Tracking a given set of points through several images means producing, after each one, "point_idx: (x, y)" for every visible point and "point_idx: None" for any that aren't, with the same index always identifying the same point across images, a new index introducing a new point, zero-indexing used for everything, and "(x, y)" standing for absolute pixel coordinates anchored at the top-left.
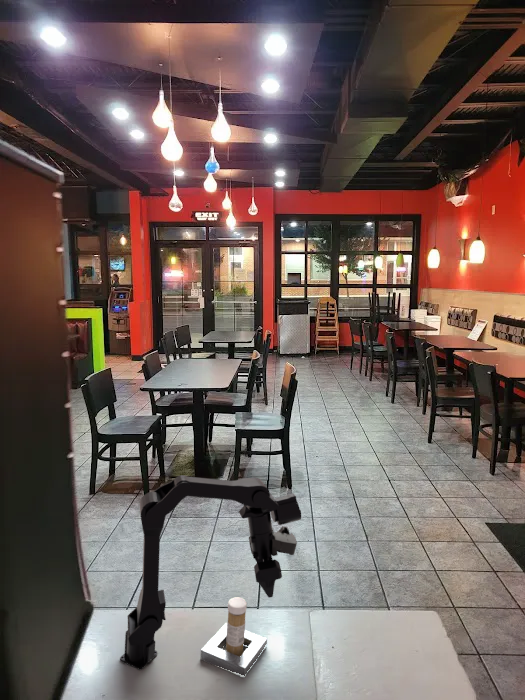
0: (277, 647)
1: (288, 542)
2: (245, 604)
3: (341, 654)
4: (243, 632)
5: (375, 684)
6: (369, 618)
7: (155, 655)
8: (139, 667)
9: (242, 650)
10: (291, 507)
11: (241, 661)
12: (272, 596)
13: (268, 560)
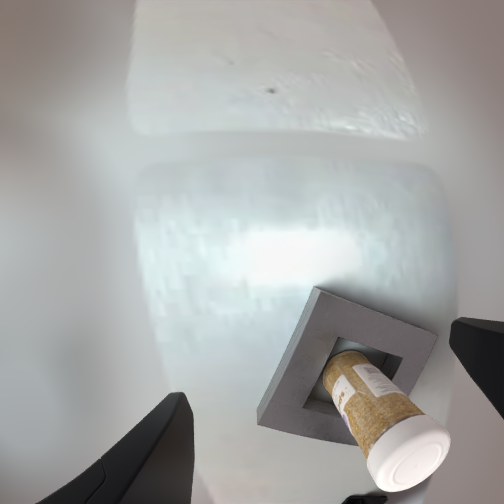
0: (305, 251)
1: None
2: (437, 432)
3: (297, 75)
4: (387, 379)
5: (372, 38)
6: (144, 23)
7: (356, 497)
8: (386, 500)
9: (359, 356)
10: None
11: (418, 350)
12: (461, 318)
13: (133, 487)
